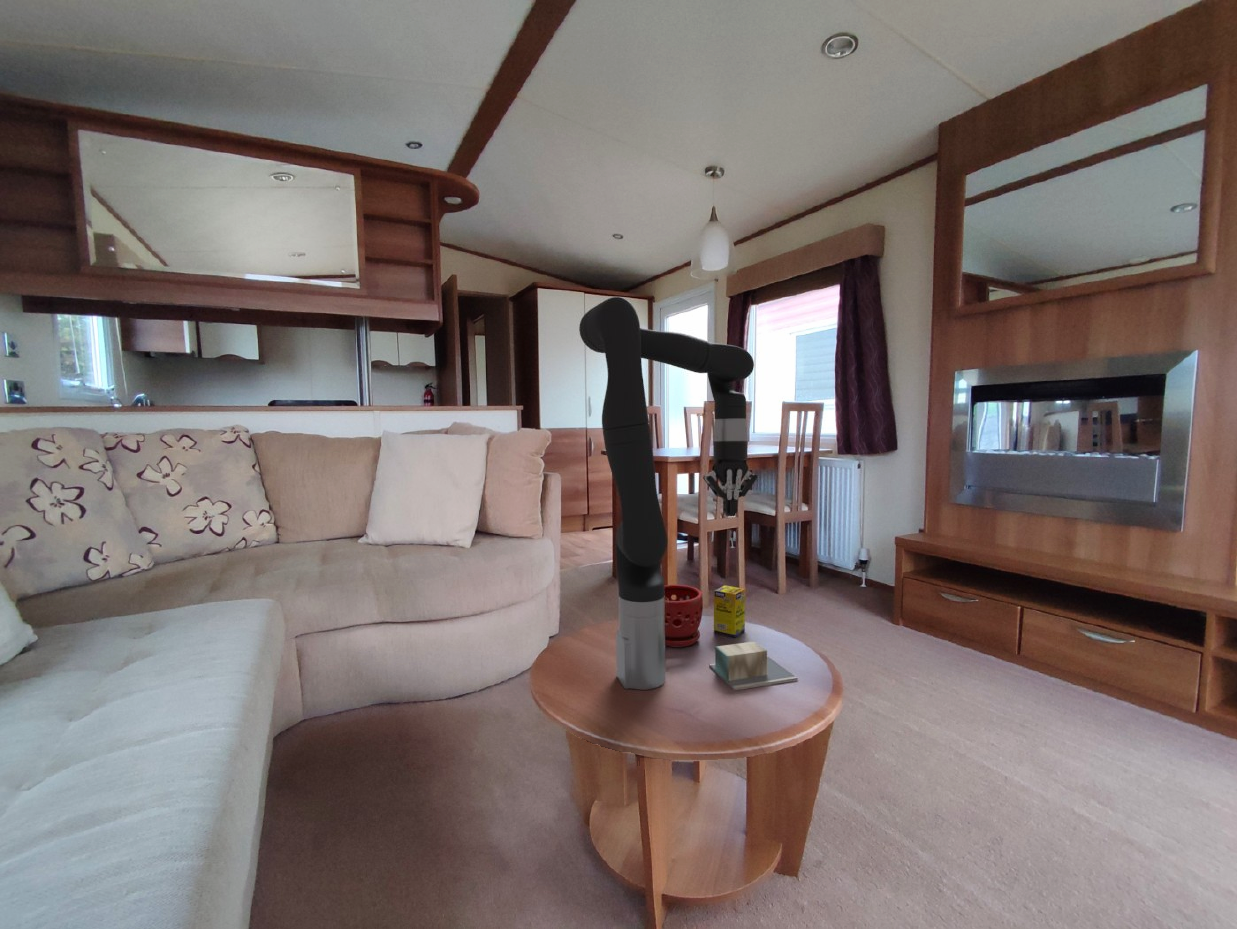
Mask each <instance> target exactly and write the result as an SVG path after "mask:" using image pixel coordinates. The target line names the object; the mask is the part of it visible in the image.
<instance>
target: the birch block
mask: <svg viewBox="0 0 1237 929" xmlns="http://www.w3.org/2000/svg"><path fill="white" fill-rule="evenodd" d="M714 648H715V650H714V651H715V654H714V655H715V658H714V659H715V662H714V663H715V670H716V671H717V672H718V673H719V674H720V675H721V676H722V677H723V678H724V679H725V680H726V681H731V680H737V679H744V678H750V677H757V676H763V675H767V656H768V650H766V649H765V648H764V647H762V646H761V645H760V644H758V643H757V642H755V641H747V642H740V643H732V644H725V645H719V646H718V645H717V646H715V647H714Z"/></svg>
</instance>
